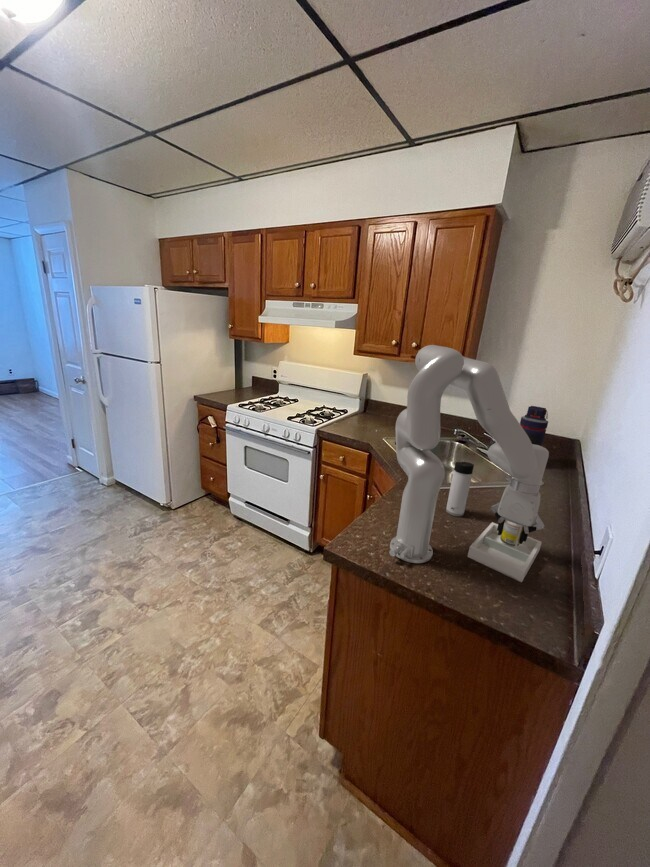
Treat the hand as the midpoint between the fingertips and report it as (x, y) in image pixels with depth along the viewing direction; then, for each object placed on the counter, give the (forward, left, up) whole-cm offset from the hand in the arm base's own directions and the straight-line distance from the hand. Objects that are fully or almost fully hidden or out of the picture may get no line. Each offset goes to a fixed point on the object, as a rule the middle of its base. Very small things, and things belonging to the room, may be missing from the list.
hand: (510, 537), depth 112 cm
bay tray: (-5, 0, -4) cm, 6 cm away
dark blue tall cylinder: (+86, +17, -4) cm, 88 cm away
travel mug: (+8, +21, -4) cm, 23 cm away
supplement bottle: (0, 0, -2) cm, 2 cm away
